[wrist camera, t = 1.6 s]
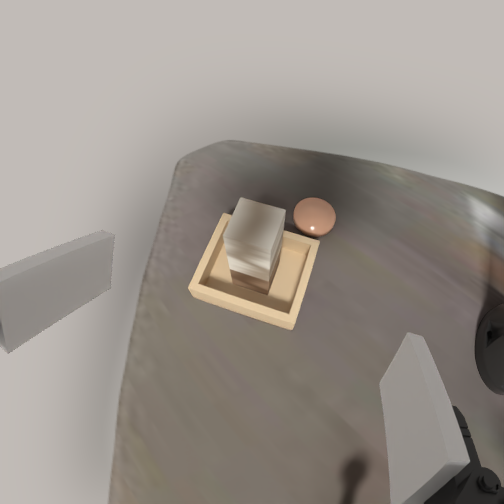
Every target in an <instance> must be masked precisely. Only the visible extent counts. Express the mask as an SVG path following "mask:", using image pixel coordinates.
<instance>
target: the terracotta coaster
mask: <svg viewBox="0 0 504 504" xmlns="http://www.w3.org/2000/svg"><path fill="white" fill-rule="evenodd" d="M293 220H294V224H295V226H296V227H297V228H298V230H299V231H301V232H302V233H303V234H305V235H308V236H312V237H320V236H324V235H326V234H328V233H329V232H330V231H331V230H332V228H333V226H334V223H335V220H336V215H335V211H334V209H333V208H332V206H331V205H330V204H329V203H328V202H326V201H324V200H322V199H319V198H306V199H303V200H301V201H300V202H299V203H298V204H297V205H296V207H295V209H294V215H293Z"/></svg>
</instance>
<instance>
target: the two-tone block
mask: <svg viewBox="0 0 504 504" xmlns="http://www.w3.org/2000/svg"><path fill="white" fill-rule="evenodd" d="M285 213H286V210H284V209H281V208H277V207H274V206H270V205H267V204H263V203H260V202H256V201H252V200H249V199H245V198H240V200H239V202H238V204H237V206H236V208H235V210H234V213H233V215H232V217H231V219H230V221H229V223H228V225H227V228H226V230H225V232H224V234H223V239H224V244H225V249H226V254H227V259H228V264H229V268H230V273H231V278H232V282H233V284H234V285H237V286H240V287H243V288H246V289H249V290H253V291H256V292H259V293H262V294H265V295H268V294H269V291H270V288H271V285H272V283H273V280H274V277H275V274H276V271H277V268H278V266H279V262H280V254H281V246H282V238H283V230H284V221H285Z"/></svg>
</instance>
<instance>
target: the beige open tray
mask: <svg viewBox="0 0 504 504" xmlns="http://www.w3.org/2000/svg"><path fill="white" fill-rule="evenodd" d="M231 217H232V215H230V214H226V213H223V215H222V217H221V219H220V221H219V223H218V225H217V227H216V229H215V231H214V233H213V236H212V238H211V240H210V242H209V244H208V246H207V248H206V250H205V252H204V255H203V257H202V259H201V261H200V263H199V265H198V267H197V270H196V272H195V274H194V276H193V278H192V280H191V283H190V285H189V287H188V289H189V290H190V292H191V294H192V296H193V297H195V298H197V299H200V300H203V301H205V302H208V303H211V304H214V305H217V306H219V307H222V308H225V309H228V310H231V311H234V312H237V313H240V314H242V315H245V316H248V317H251V318H254V319H257V320H260V321H263V322H266V323H269V324H272V325H275V326H279V327H282V328H285V329H288V330H291V331H292V329H293V327H294V324H295V322H296V318H297V315H298V312H299V309H300V306H301V303H302V300H303V296H304V293H305V290H306V287H307V283H308V280H309V277H310V273H311V270H312V267H313V263H314V260H315V257H316V253H317V250H318V246H319V243H320V241H318V240H315V239H311V238H308V237H305V236H301V235H298V234H295V233H291V232H288V231H285V230H283V238H282V246H281V254H280V262H279V266H278V268H277V271H276V274H275V277H274V280H273V283H272V285H271V288H270V291H269V294H268V295H265V294H262V293H259V292H256V291H253V290H249V289H246V288H243V287H240V286H237V285H234V284H233V282H232V278H231V273H230V268H229V264H228V259H227V254H226V249H225V244H224V239H223V234H224V232H225V230H226V228H227V225H228V223H229V221H230V219H231Z"/></svg>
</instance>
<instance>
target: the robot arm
mask: <svg viewBox="0 0 504 504" xmlns="http://www.w3.org/2000/svg"><path fill="white" fill-rule="evenodd" d="M114 238H115V235H114V234H112V233H109V232H106V231H104V230H101V231H99V232H95V233H92V234H89V235H87V236H84V237H81V238H78V239H75V240H73V241H70V242H67V243H64V244H62V245H60V246H56V247H54V248H51V249H48V250H46V251H43V252H40V253H38V254H36V255H33V256H30V257H28V258H25V259H23V260H20V261H18V262H15V263H13V264H10V265H8V266H6V267H3V268H0V347H1V348H2V349H4V350H5V351H6V352H7V353H10V352H12V351H13V350H15V349H16V348H18V347H19V346H21V345H22V344H23V343H25V342H27V341H28V340H29V339H31V338H33V337H34V336H36V335H37V334H39V333H40V332H42V331H43V330H45V329H47V328H48V327H50V326H51V325H53V324H54V323H56V322H57V321H59V320H61V319H62V318H64V317H65V316H67V315H68V314H70V313H72V312H73V311H75V310H76V309H78V308H80V307H81V306H83V305H84V304H86V303H88V302H89V301H91V300H92V299H94V298H96V297H97V296H99V295H100V294H102V293H104V292H105V291H107V290H109V289H110V288H111V272H112V260H113V248H114ZM475 353H476V362H477V366H478V370H479V373H480V375H481V378H482V380H483V381H484V383H485V384H486V386H487V387H488V388H489V389H490V390H492V391H493V392H495V393H497V394H500V395H504V303H503V304H501V305H499V306H497V307H495V308H494V309H492V310H490V311H489V312H488V313H487V314H486V315H485V317H484V318H483V320H482V321H481V323H480V326H479V329H478V332H477V337H476V345H475ZM379 385H380V392H381V399H382V407H383V415H384V423H385V432H386V441H387V452H388V464H389V478H390V496H391V504H423V503H424V504H504V488H503V487H501V483H500V480H499V478H498V476H497V475H496V474H495V473H494V472H493V471H492V470H490V469H488V468H484V467H481V464H480V461H479V458H478V455H477V452H476V449H475V446H474V443H473V440H472V438H470V437H471V434H470V432H469V429H467V428H468V426H467V423H466V421H465V418H464V416H463V415H462V413H461V412H460V411H459V409H458V408H457V407H456V406H452V405H451V402H450V400H449V397H448V395H447V392H446V389H445V387H444V384H443V382H442V379H441V377H440V374H439V372H438V370H437V367H436V365H435V363H434V360H433V358H432V356H431V353H430V351H429V349H428V347H427V344H426V342H425V340H424V338H423V336H420V335H416V334H413V333H409V332H407V334H406V336H405V338H404V340H403V342H402V344H401V346H400V348H399V349H398V351H397V353H396V355H395V357H394V359H393V360H392V362H391V364H390V366H389V367H388V369H387V371H386V373H385V374H384V376H383V378H382V379H381V381H380V383H379Z"/></svg>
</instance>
